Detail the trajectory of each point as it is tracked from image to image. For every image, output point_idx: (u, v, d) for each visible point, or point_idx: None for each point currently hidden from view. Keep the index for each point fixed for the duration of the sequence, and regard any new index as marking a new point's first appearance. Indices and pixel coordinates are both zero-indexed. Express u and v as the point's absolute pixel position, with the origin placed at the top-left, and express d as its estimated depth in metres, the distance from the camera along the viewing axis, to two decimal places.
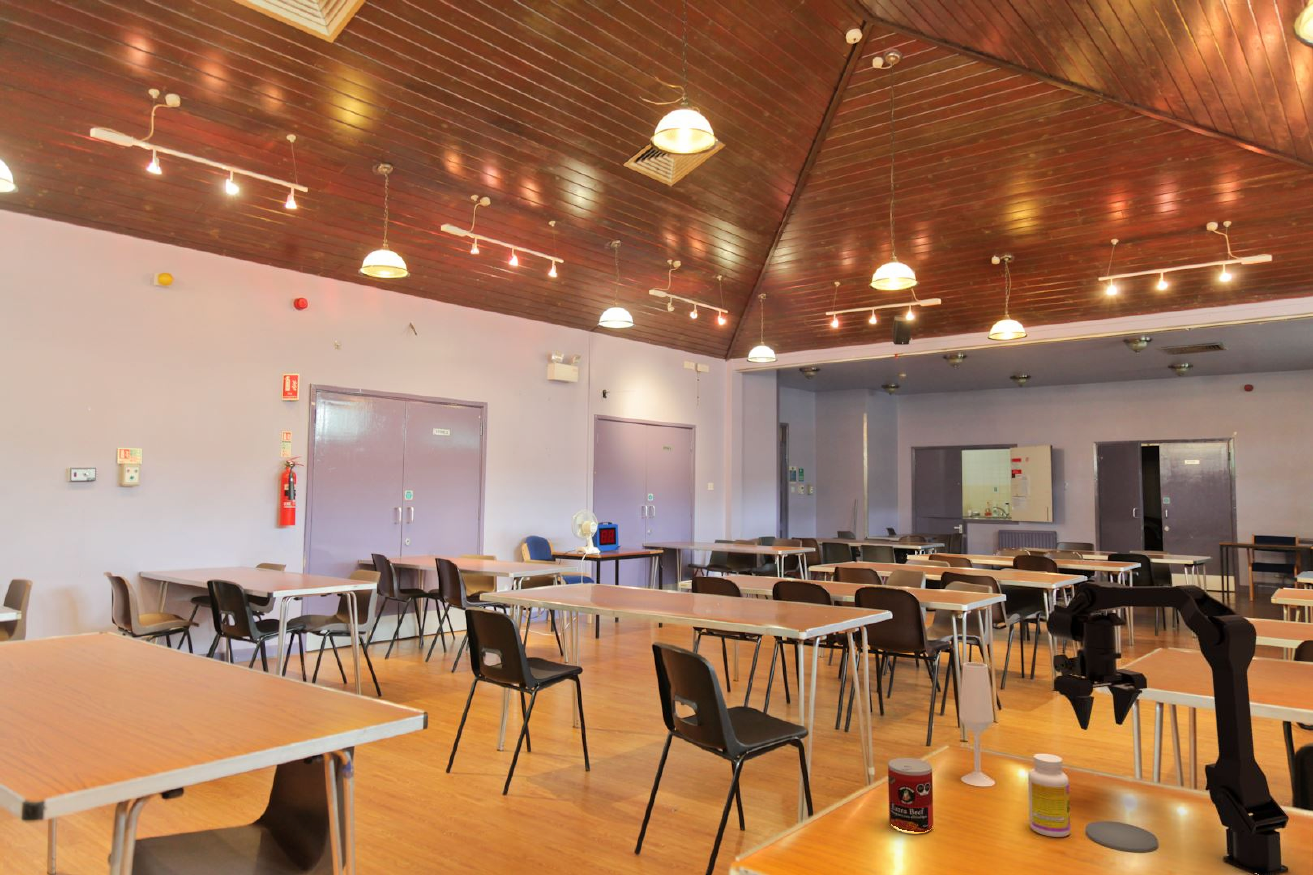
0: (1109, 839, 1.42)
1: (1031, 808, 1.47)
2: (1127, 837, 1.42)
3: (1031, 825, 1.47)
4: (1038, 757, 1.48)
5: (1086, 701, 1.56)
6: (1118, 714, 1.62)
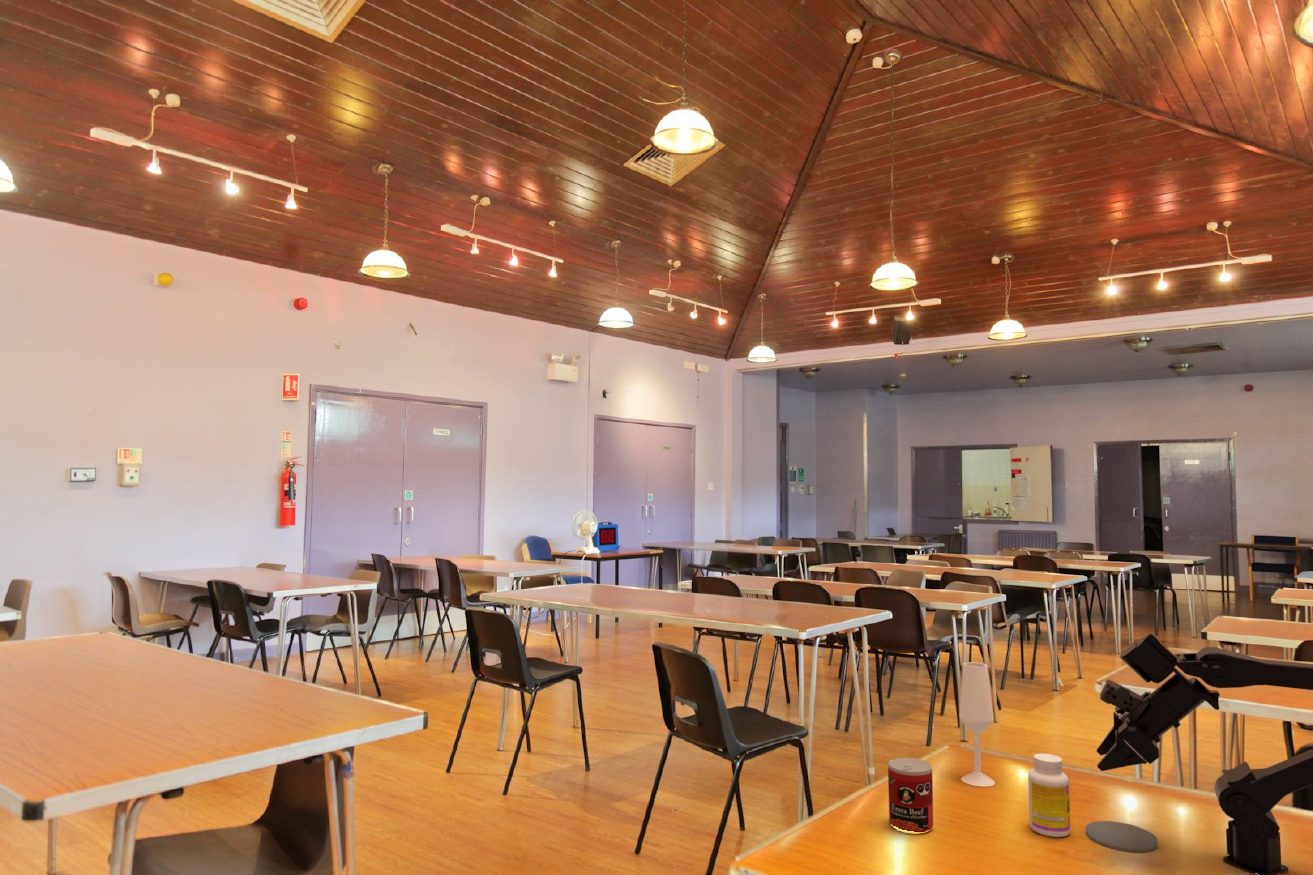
0: (1109, 839, 1.42)
1: (1031, 808, 1.47)
2: (1127, 837, 1.42)
3: (1031, 825, 1.47)
4: (1038, 757, 1.48)
5: (1141, 763, 1.36)
6: (1106, 747, 1.48)
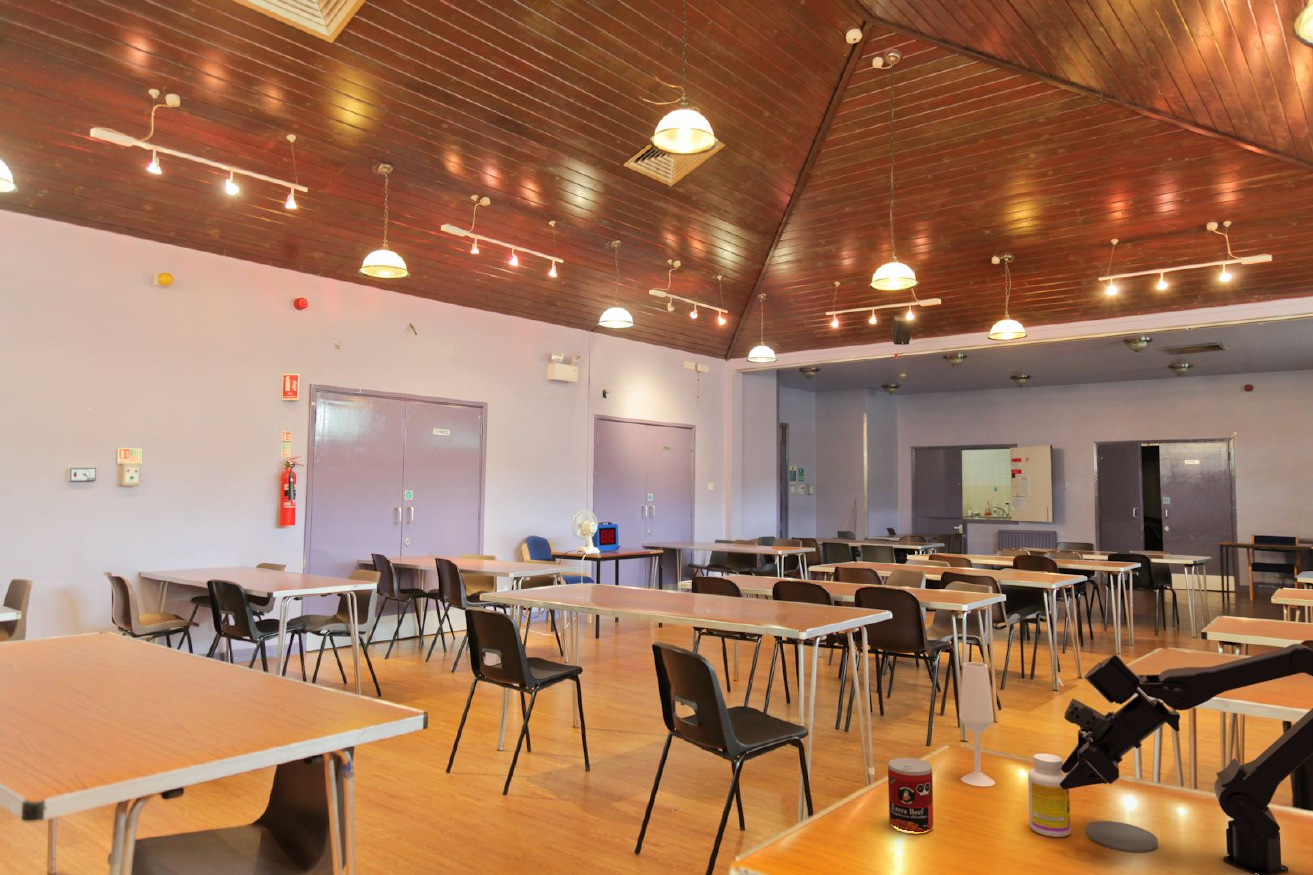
0: (1109, 839, 1.42)
1: (1031, 808, 1.47)
2: (1127, 837, 1.42)
3: (1031, 825, 1.47)
4: (1038, 757, 1.48)
5: (1102, 782, 1.38)
6: (1070, 764, 1.50)
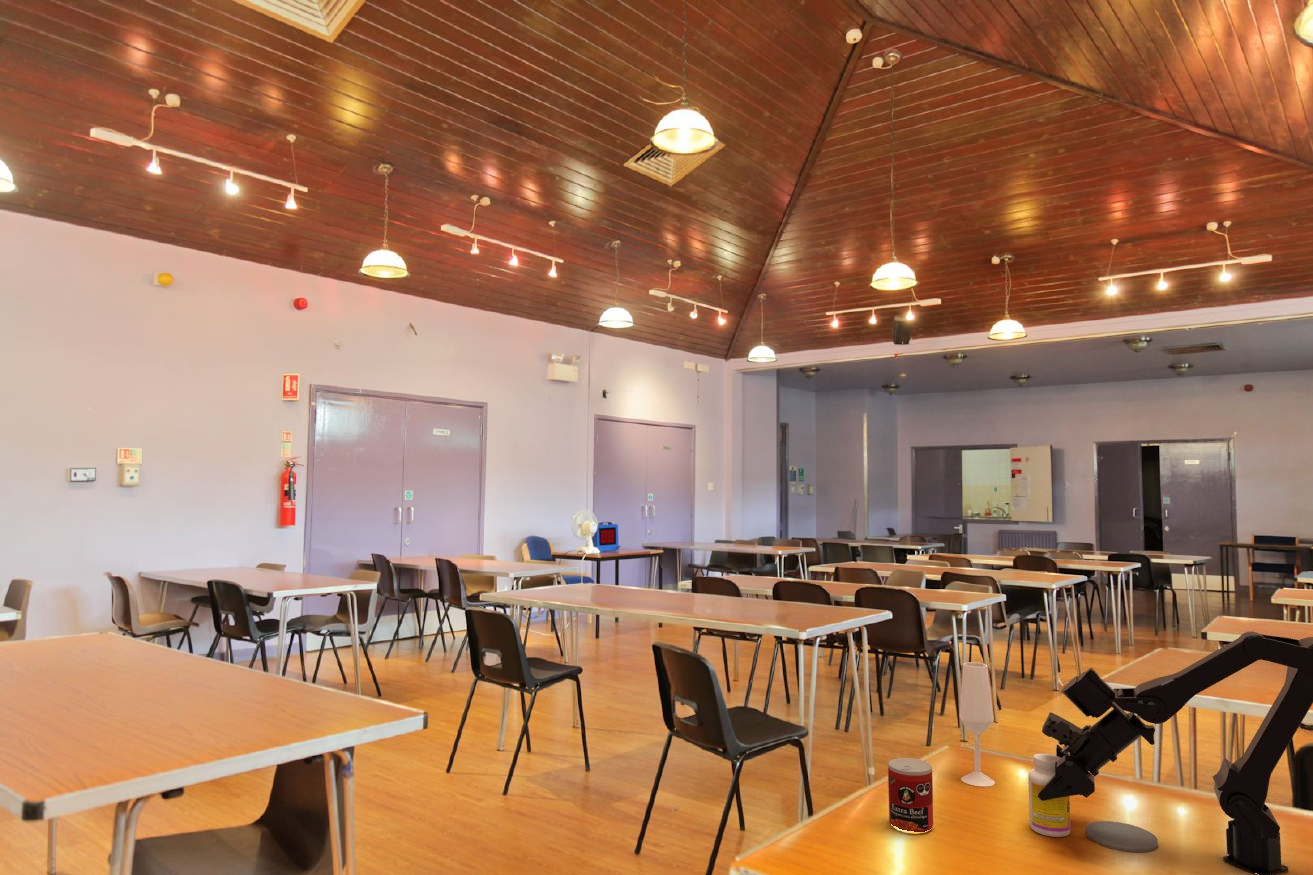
0: (1109, 839, 1.42)
1: (1031, 808, 1.47)
2: (1127, 837, 1.42)
3: (1031, 825, 1.47)
4: (1038, 757, 1.48)
5: (1079, 794, 1.40)
6: None
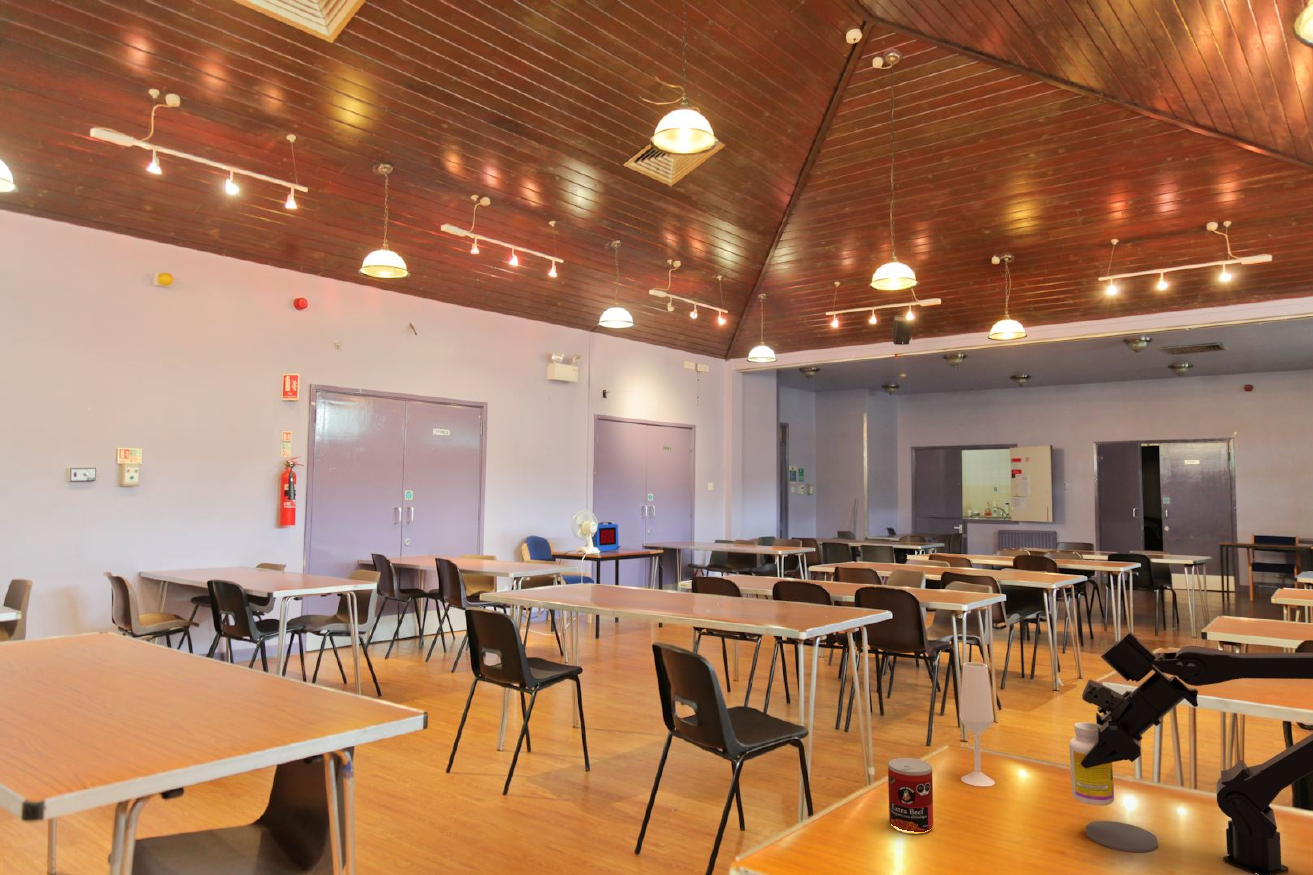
0: (1109, 839, 1.42)
1: (1074, 777, 1.45)
2: (1127, 837, 1.42)
3: (1074, 794, 1.45)
4: (1079, 726, 1.46)
5: (1123, 759, 1.39)
6: None
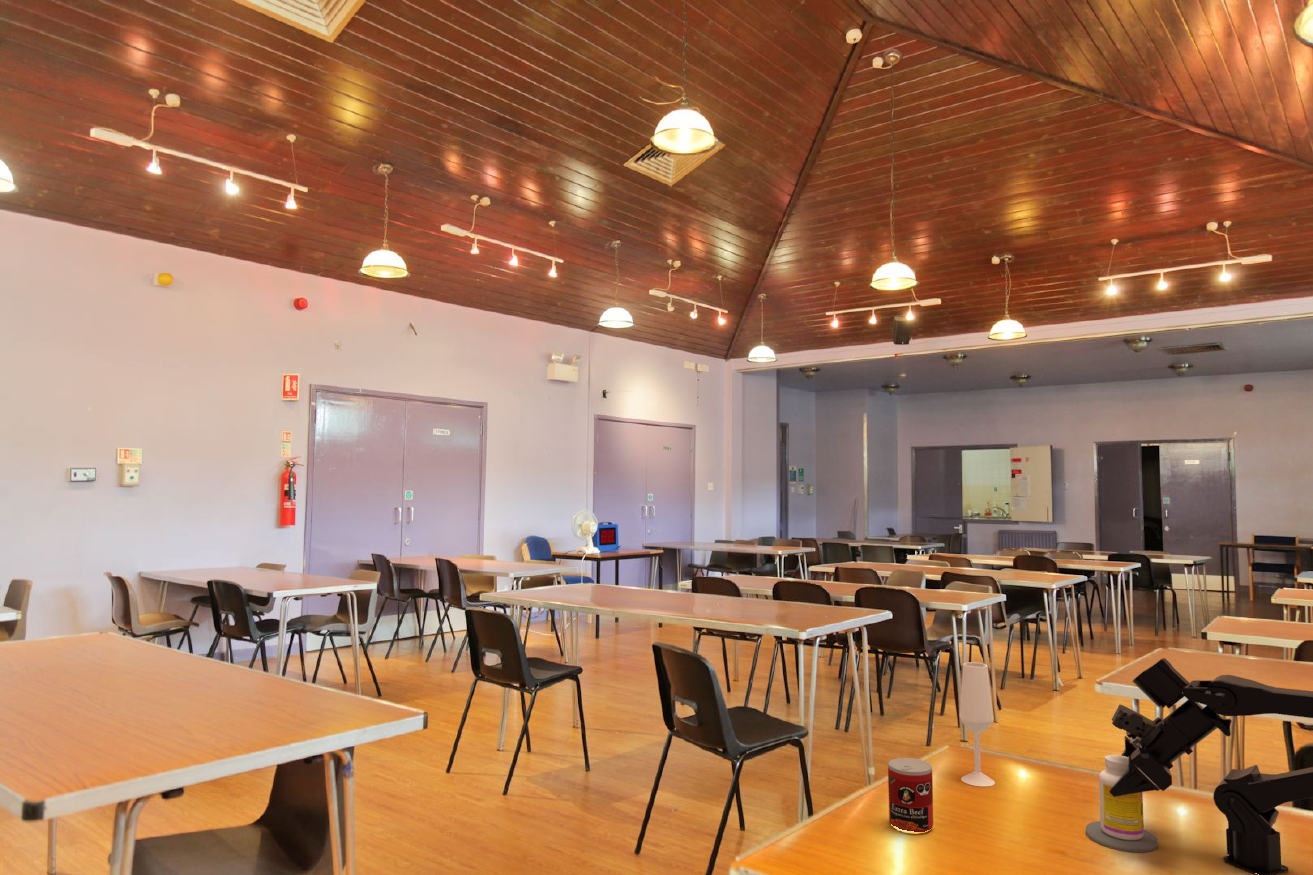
0: (1109, 839, 1.42)
1: (1103, 810, 1.44)
2: None
3: (1103, 828, 1.44)
4: (1110, 758, 1.45)
5: (1154, 789, 1.36)
6: None
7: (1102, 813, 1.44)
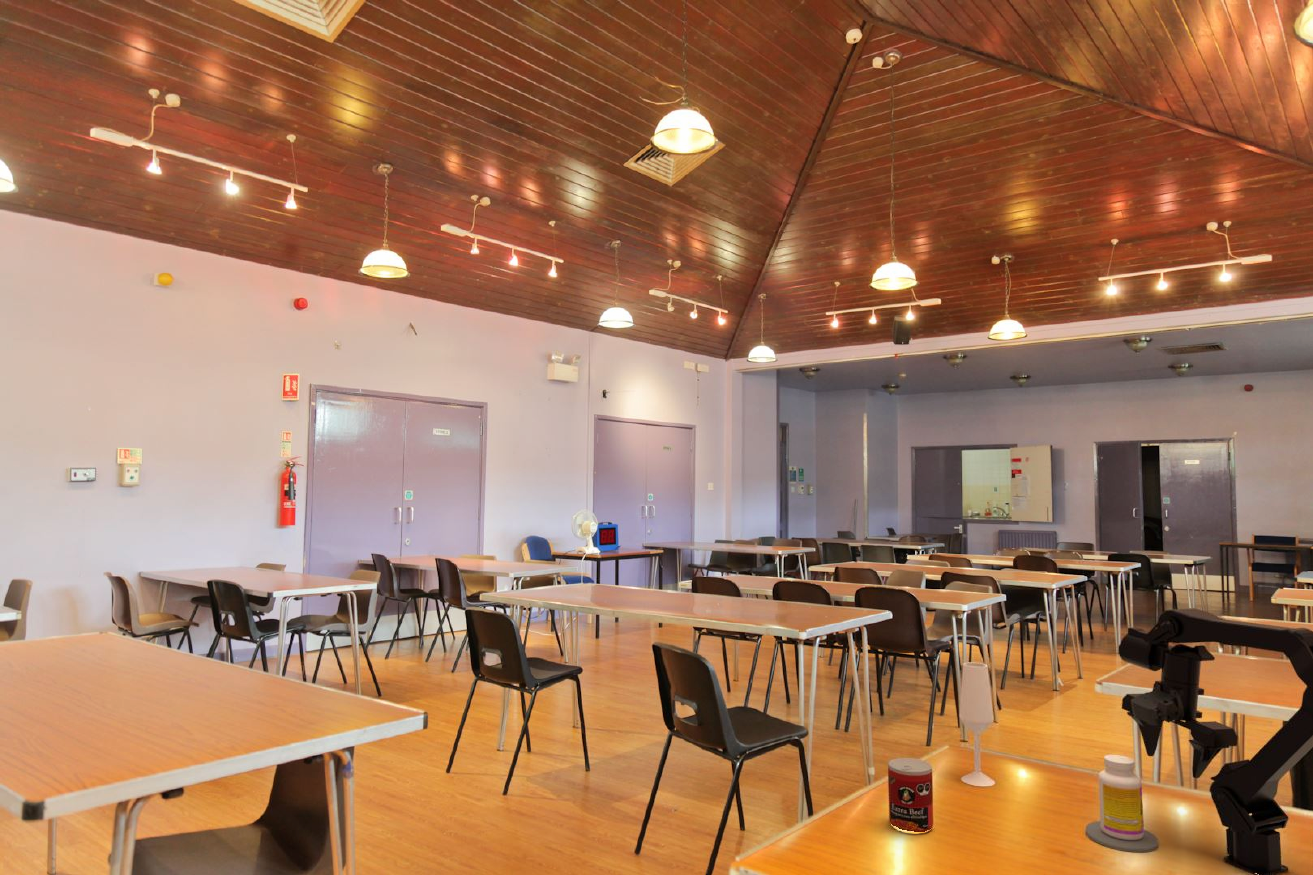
0: (1109, 839, 1.42)
1: (1102, 811, 1.44)
2: None
3: (1103, 828, 1.44)
4: (1109, 758, 1.45)
5: None
6: (1152, 746, 1.50)
7: (1102, 813, 1.44)
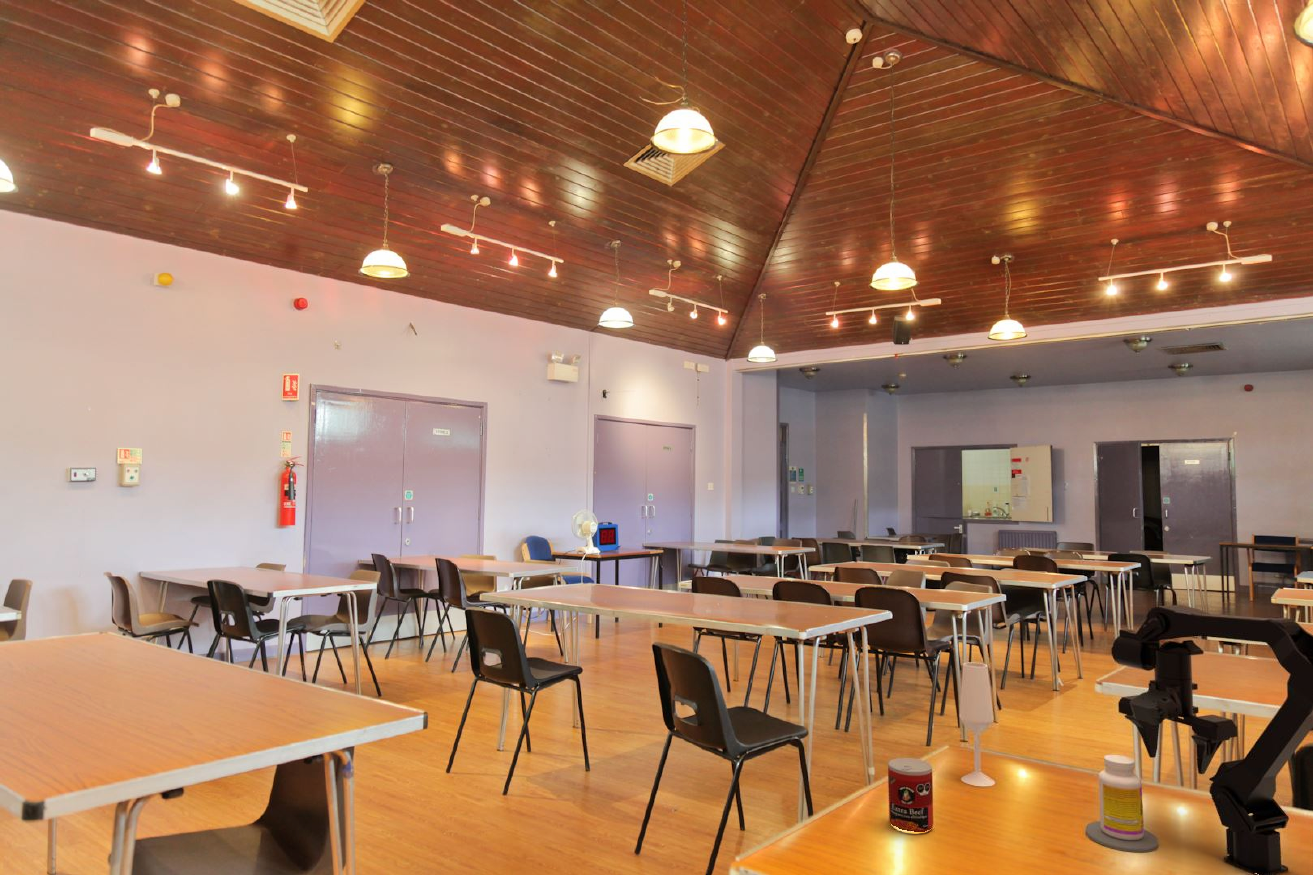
0: (1109, 839, 1.42)
1: (1102, 811, 1.44)
2: None
3: (1102, 828, 1.44)
4: (1109, 758, 1.45)
5: None
6: (1153, 747, 1.50)
7: (1102, 813, 1.44)
